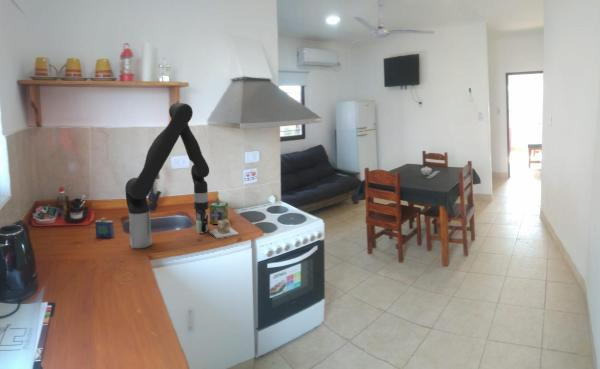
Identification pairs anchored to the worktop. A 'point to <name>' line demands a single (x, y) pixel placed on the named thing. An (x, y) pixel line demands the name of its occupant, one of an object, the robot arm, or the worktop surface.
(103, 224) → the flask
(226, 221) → the maple block
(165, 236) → the worktop surface
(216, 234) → the tile
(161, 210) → the worktop surface
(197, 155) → the robot arm
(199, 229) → the sage block
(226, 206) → the chalk box
